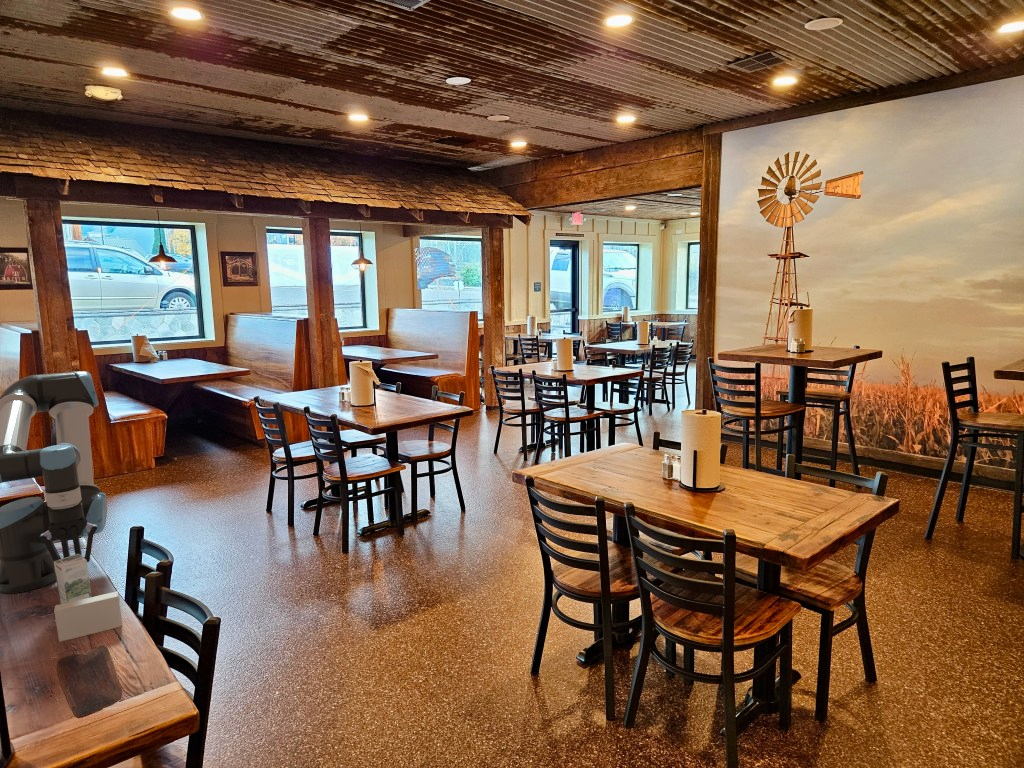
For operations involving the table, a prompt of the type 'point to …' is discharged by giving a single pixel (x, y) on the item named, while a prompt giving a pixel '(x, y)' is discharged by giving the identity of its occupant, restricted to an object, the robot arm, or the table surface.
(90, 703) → the wooden tablet
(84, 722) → the table surface
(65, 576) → the syrup box
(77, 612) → the board
